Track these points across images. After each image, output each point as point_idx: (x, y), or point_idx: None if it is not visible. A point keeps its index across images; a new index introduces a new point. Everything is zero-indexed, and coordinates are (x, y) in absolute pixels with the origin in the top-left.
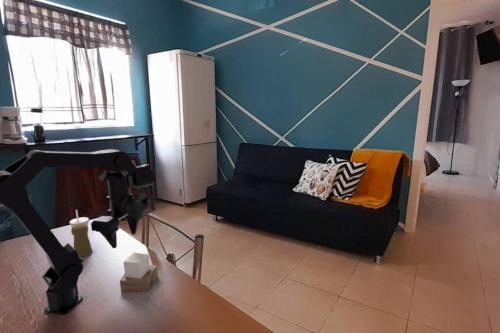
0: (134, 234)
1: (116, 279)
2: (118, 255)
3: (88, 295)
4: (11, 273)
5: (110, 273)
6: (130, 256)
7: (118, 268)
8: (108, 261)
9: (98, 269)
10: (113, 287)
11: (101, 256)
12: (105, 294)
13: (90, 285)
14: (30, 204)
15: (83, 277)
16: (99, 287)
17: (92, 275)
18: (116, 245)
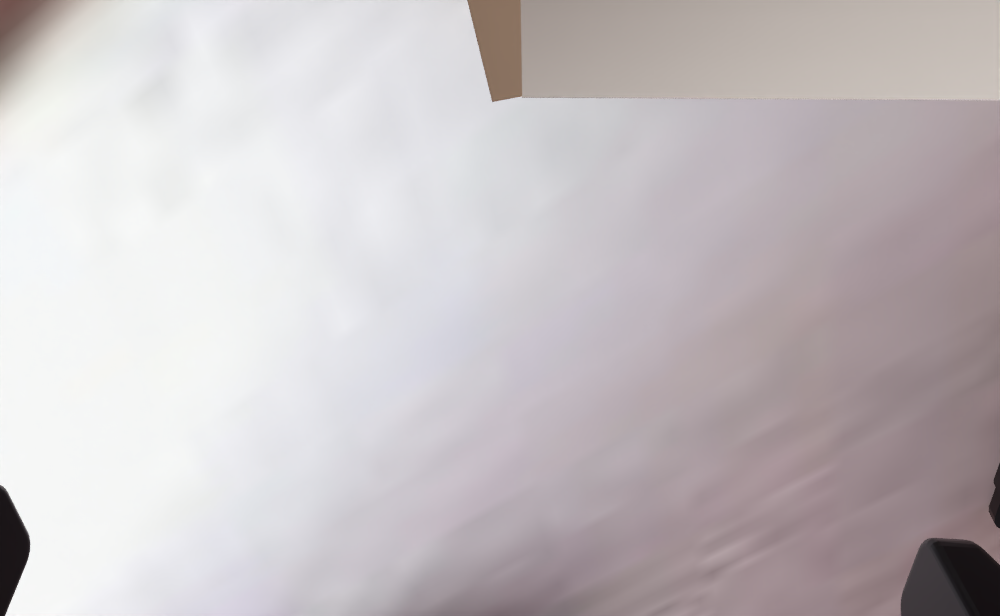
0: (2, 487)
1: (640, 197)
2: (189, 454)
3: (988, 311)
4: None
5: (534, 337)
6: (741, 62)
7: (414, 312)
8: (330, 480)
9: (495, 485)
10: (821, 126)
11: (280, 577)
12: (982, 133)
13: (791, 397)
14: None
15: (657, 527)
16: (826, 290)
17: (609, 477)
18: (981, 595)
